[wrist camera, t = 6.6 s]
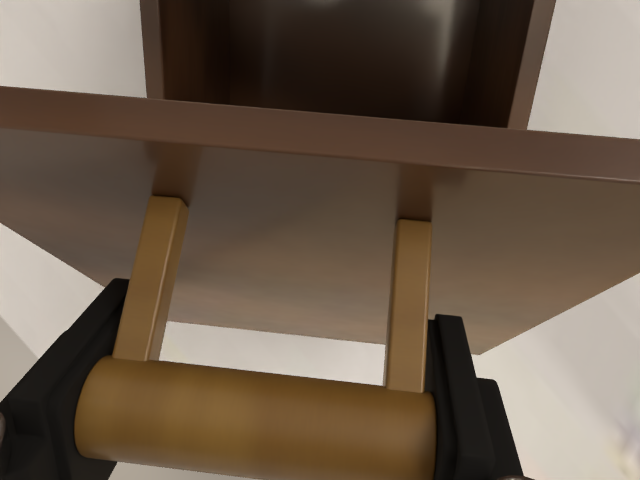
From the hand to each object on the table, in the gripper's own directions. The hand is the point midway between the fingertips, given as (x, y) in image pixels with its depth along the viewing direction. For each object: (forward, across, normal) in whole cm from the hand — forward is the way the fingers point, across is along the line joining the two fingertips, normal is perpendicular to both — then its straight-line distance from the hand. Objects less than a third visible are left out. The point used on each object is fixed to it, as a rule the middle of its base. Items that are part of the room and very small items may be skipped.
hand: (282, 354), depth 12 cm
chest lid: (+6, 0, +1) cm, 6 cm away
